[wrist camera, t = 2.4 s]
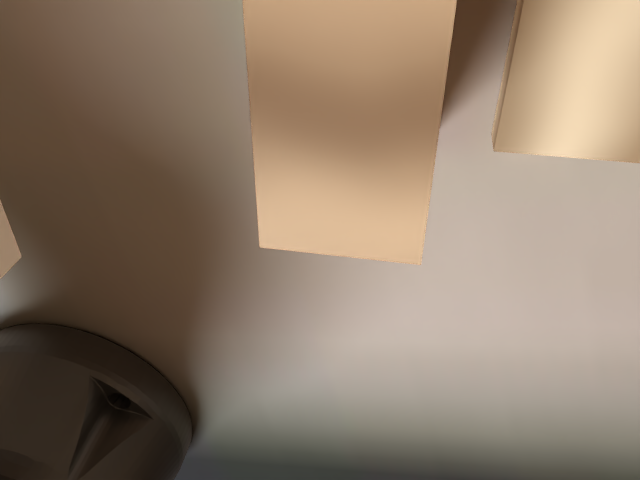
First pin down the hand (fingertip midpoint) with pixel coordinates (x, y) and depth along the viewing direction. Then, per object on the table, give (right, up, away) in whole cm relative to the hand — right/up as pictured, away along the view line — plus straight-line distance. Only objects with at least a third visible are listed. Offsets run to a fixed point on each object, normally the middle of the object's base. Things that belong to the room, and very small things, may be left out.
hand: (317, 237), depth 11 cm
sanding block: (+2, +8, +11) cm, 14 cm away
